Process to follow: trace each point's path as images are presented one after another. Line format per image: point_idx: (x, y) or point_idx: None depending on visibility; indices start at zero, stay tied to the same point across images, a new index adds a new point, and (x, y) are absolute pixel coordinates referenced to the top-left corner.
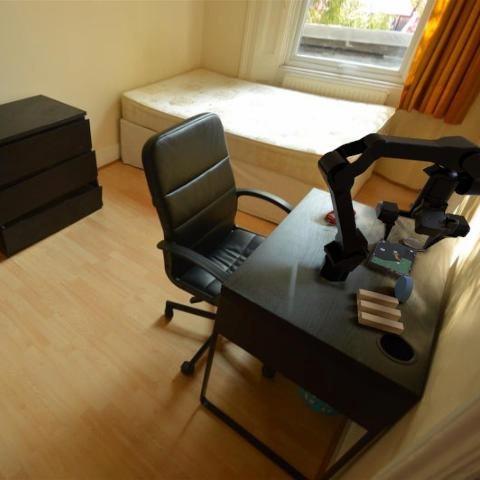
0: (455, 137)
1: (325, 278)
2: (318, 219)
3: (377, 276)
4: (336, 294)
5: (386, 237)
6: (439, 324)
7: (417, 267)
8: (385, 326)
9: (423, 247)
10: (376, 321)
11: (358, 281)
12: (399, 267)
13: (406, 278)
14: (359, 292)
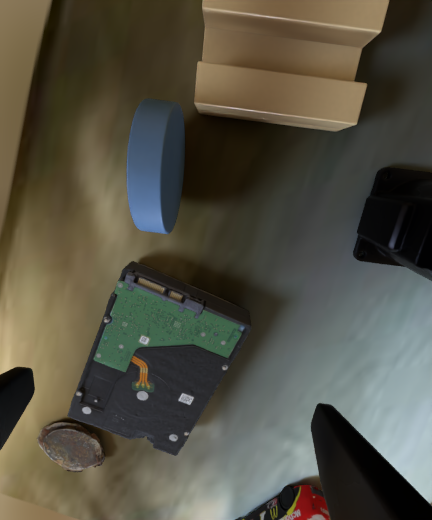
0: None
1: None
2: None
3: (218, 271)
4: (414, 118)
5: (350, 438)
6: (39, 55)
7: (75, 349)
8: None
9: (30, 389)
10: None
11: (297, 225)
12: (144, 317)
13: (157, 178)
14: (362, 98)
